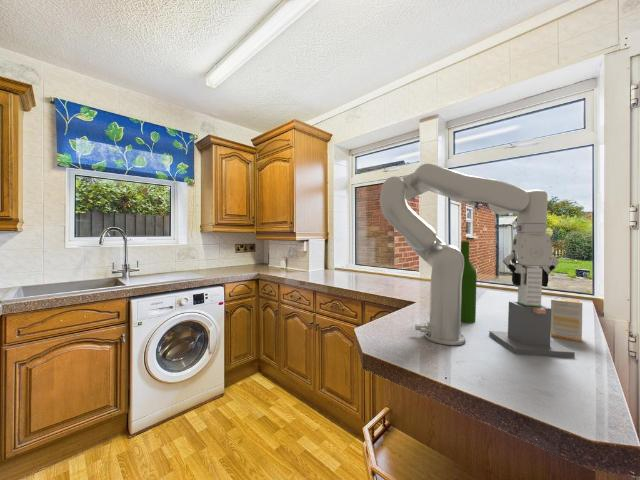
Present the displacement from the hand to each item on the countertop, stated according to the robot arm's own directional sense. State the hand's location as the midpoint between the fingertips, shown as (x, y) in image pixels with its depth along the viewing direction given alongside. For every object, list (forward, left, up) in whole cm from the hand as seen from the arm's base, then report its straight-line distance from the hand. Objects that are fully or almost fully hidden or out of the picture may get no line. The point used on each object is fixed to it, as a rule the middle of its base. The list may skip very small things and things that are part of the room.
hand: (529, 285), depth 91 cm
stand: (0, 0, -19) cm, 19 cm away
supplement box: (+18, +10, -19) cm, 28 cm away
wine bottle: (-10, +26, -19) cm, 34 cm away
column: (0, 0, -13) cm, 13 cm away
